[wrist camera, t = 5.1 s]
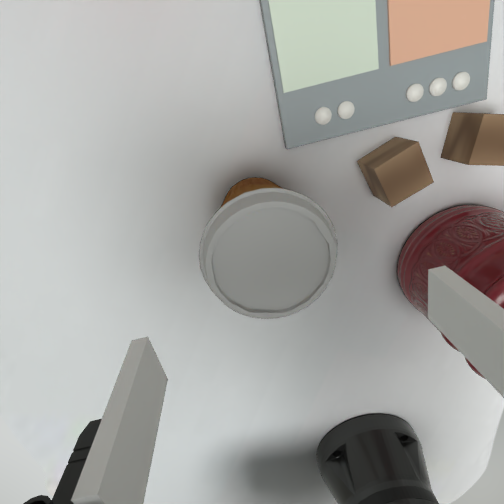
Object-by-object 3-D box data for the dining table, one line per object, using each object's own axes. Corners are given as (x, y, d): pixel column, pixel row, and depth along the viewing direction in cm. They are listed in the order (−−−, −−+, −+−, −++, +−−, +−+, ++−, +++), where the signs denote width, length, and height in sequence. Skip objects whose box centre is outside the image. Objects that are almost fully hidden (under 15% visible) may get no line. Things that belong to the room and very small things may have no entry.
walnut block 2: (478, 158, 32) (511, 165, 28) (440, 157, 31) (468, 164, 28) (493, 113, 30) (529, 115, 26) (452, 112, 30) (484, 114, 26)
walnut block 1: (409, 172, 32) (433, 182, 28) (373, 195, 32) (391, 207, 29) (394, 136, 30) (418, 141, 27) (356, 161, 31) (374, 169, 27)
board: (480, 99, 29) (488, 99, 28) (285, 148, 30) (287, 149, 29) (495, -111, 23) (507, -121, 22) (251, -47, 24) (252, -53, 23)
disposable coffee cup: (188, 223, 32) (170, 286, 21) (241, 138, 29) (253, 161, 18) (266, 268, 35) (286, 344, 24) (322, 195, 32) (373, 244, 21)
